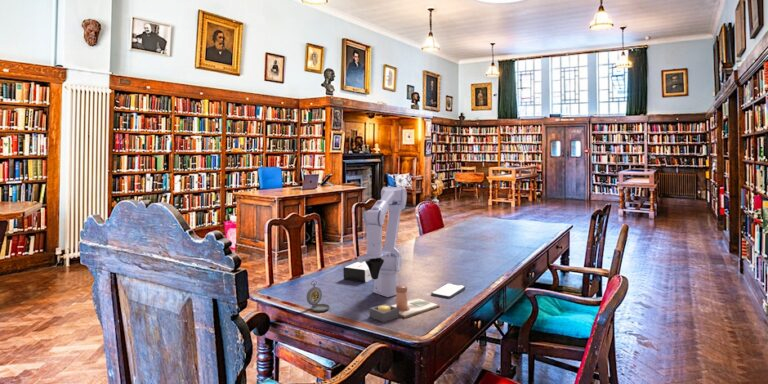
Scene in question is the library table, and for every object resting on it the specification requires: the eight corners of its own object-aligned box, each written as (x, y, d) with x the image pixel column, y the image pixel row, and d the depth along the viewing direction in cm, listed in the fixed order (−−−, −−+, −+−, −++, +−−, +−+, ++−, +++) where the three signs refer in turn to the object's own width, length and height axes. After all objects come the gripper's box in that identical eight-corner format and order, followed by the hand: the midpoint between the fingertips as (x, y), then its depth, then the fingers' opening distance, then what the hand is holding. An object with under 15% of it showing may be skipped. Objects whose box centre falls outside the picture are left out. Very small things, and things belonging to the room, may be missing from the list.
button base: (369, 316, 156) (369, 308, 155) (385, 311, 160) (385, 303, 160) (383, 322, 150) (383, 313, 150) (399, 317, 155) (399, 308, 155)
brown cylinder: (394, 308, 161) (393, 286, 160) (401, 306, 164) (401, 284, 163) (401, 311, 158) (401, 289, 157) (409, 308, 161) (409, 286, 160)
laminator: (364, 283, 198) (364, 270, 197) (341, 280, 204) (341, 267, 203) (398, 266, 228) (398, 254, 227) (376, 264, 234) (376, 252, 233)
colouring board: (381, 309, 162) (381, 307, 162) (416, 299, 174) (416, 297, 174) (404, 318, 153) (404, 316, 153) (439, 306, 165) (439, 304, 165)
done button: (375, 315, 155) (375, 307, 155) (384, 312, 158) (384, 304, 158) (383, 318, 152) (383, 310, 152) (393, 315, 155) (393, 307, 155)
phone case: (449, 300, 175) (466, 289, 188) (449, 296, 174) (466, 285, 188) (429, 296, 179) (447, 286, 193) (429, 293, 179) (447, 282, 193)
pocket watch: (326, 313, 160) (325, 285, 159) (304, 311, 161) (303, 284, 160) (333, 305, 168) (332, 279, 167) (311, 304, 169) (311, 278, 169)
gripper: (365, 246, 157) (366, 284, 158) (396, 241, 167) (396, 277, 168) (353, 243, 162) (354, 280, 164) (383, 238, 172) (383, 273, 173)
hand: (374, 278), depth 166 cm, fingers closed
